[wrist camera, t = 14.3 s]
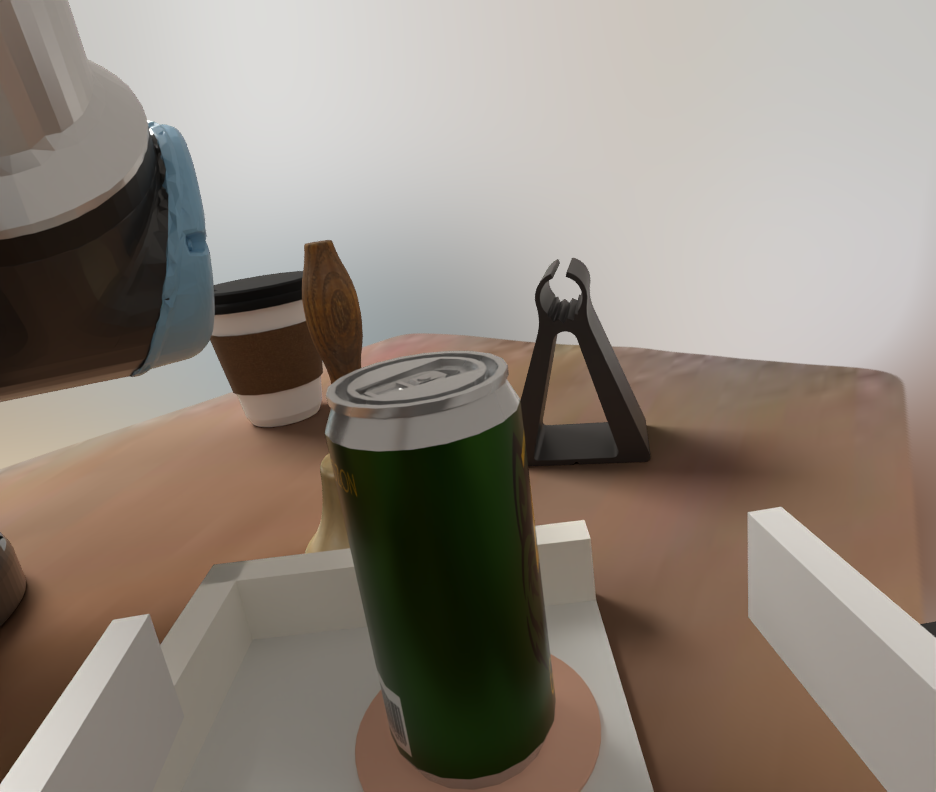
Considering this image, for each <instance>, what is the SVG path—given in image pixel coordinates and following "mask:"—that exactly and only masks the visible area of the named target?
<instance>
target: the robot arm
mask: <svg viewBox="0 0 936 792" xmlns="http://www.w3.org/2000/svg"><path fill="white" fill-rule="evenodd" d="M205 240H206V230H205V218H204V211H203V205H202V200H201V195H200V190H199V186H198V182H197V177H196V173H195V169H194V165H193V162H192V159H191V155H190V153H189V150H188V147H187V144H186V142H185V140H184V138H183V136H182V135H181V133H180V132H179V131H178V130H177V129H176V128H174V127H172V126H168V125H163V124H162V125H160V124H158V123H155V122H152V121H147V118H146V115H145V113H144V110H143V107H142V105H141V104H140V102H139V100H138V99H137V97H136V96H135V94H134V93H133V92H132V90H131V89H130V88H129V86H128V85H126V84H125V83H124V82H123V81H122V80H121V79H119V78H118V77H117V76H116V75H114V74H113V73H111V72H110V71H108V70H107V69H105V68H103V67H102V66H100V65H98V64H96V63H94V62H92V61H90V60H88V59H87V57H86V54H85V51H84V48H83V45H82V42H81V39H80V36H79V33H78V30H77V27H76V24H75V21H74V18H73V15H72V12H71V9H70V5H69V2H68V0H0V402H3V401H8V400H12V399H18V398H23V397H27V396H32V395H38V394H42V393H48V392H53V391H58V390H62V389H68V388H72V387H77V386H83V385H88V384H92V383H97V382H103V381H108V380H112V379H118V378H122V377H128V376H131V377H135V376H140V375H142V374H144V373H146V372H147V371H149V370H150V369H152V368H156V367H160V366H163V365H167V364H171V363H174V362H178V361H182V360H186V359H189V358H192V357H194V356H195V355H197V354H198V353H200V352H201V351H202V350H203V349H204V348H205V346H206V345H207V344H208V342H209V340H210V338H211V335H212V332H213V327H214V316H215V304H214V285H213V275H212V266H211V259H210V252H209V249H208V246H207V243H206V241H205ZM25 589H26V578H25V575H24V573H23V571H22V568H21V566H20V563H19V561H18V558H17V556H16V553H15V551H14V548H13V546H12V545H11V543H10V542H9V540H8V539H7V538H6V537H5V536H4V535H3V534H2V533H1V532H0V626H1V625H2V624H3V623H4V622H5V621H6V620H7V619H8V618H9V616H10V615H11V614H12V613H13V611H14V610H15V609H16V607H17V606H18V604H19V603H20V601H21V599H22V597H23V595H24V593H25ZM748 617H749V618H750V620H751V621H752V622H753V623H754V625H755V626H756V627H757V628H758V630H759V631H760V632H761V634H762V635H763V636H764V637H765V639H766V640H767V641H768V642H769V644H770V645H771V646H772V647H773V649H774V650H775V651H776V652H777V654H778V655H779V656H780V657H781V659H782V660H783V661H784V662H785V664H786V665H787V666H788V667H789V669H790V670H791V671H792V672H793V674H794V675H795V676H796V677H797V679H798V680H799V681H800V682H801V684H802V685H803V686H804V687H805V689H806V690H807V691H808V692H809V694H810V695H811V696H812V697H813V699H814V700H815V701H816V702H817V704H818V705H819V706H820V708H821V709H822V710H823V711H824V713H825V714H826V715H827V716H828V718H829V719H830V720H831V721H832V723H833V724H834V725H835V726H836V728H837V729H838V730H839V731H840V733H841V734H842V735H843V736H844V738H845V739H846V740H847V741H848V743H849V744H850V745H851V746H852V748H853V749H854V750H855V751H856V753H857V754H858V755H859V756H860V758H861V759H862V760H863V761H864V763H865V764H866V765H867V766H868V768H869V769H870V770H871V771H872V773H873V774H874V775H875V776H876V778H877V779H878V780H879V782H880V783H881V784H882V785H883V787H884V788H885V789H886V790H887V792H936V622H931V623H925V624H919V623H918V622H917V621H915V620H914V619H913V618H912V617H911V616H909V615H908V614H907V613H906V612H905V611H904V610H902V609H901V608H900V607H899V606H898V605H896V604H895V603H894V602H893V601H892V600H891V599H889V598H888V597H887V596H886V595H885V594H884V593H882V592H881V591H880V590H879V589H878V588H876V587H875V586H874V585H873V584H872V583H871V582H869V581H868V580H867V579H866V578H865V577H863V576H862V575H861V574H860V573H859V572H858V571H856V570H855V569H854V568H853V567H852V566H851V565H849V564H848V563H847V562H846V561H845V560H843V559H842V558H841V557H840V556H839V555H838V554H836V553H835V552H834V551H833V550H832V549H830V548H829V547H828V546H827V545H826V544H825V543H823V542H822V541H821V540H820V539H819V538H817V537H816V536H815V535H814V534H813V533H812V532H810V531H809V530H808V529H807V528H806V527H805V526H803V525H802V524H801V523H800V522H799V521H797V520H796V519H795V518H794V517H793V516H792V515H790V514H789V513H788V512H787V511H786V510H784V509H783V508H782V507H777V508H771V509H765V510H759V511H753V512H748ZM183 718H184V714H183V711H182V708H181V705H180V702H179V699H178V696H177V693H176V690H175V688H174V685H173V682H172V679H171V676H170V673H169V670H168V667H167V664H166V661H165V658H164V655H163V652H162V649H161V647H160V644H159V641H158V638H157V635H156V632H155V629H154V626H153V623H152V620H151V617H150V614H145V615H139V616H133V617H127V618H121V619H115V620H113V621H112V622H111V624H110V625H109V626H108V628H107V629H106V631H105V632H104V634H103V635H102V637H101V638H100V640H99V641H98V642H97V644H96V645H95V647H94V648H93V650H92V651H91V653H90V654H89V656H88V657H87V659H86V660H85V661H84V663H83V664H82V666H81V667H80V669H79V670H78V672H77V673H76V675H75V676H74V677H73V679H72V680H71V682H70V683H69V685H68V686H67V688H66V689H65V691H64V692H63V693H62V695H61V696H60V698H59V699H58V701H57V702H56V704H55V705H54V707H53V708H52V710H51V711H50V712H49V714H48V715H47V717H46V718H45V720H44V721H43V723H42V724H41V726H40V727H39V728H38V730H37V731H36V733H35V734H34V736H33V737H32V739H31V740H30V742H29V743H28V745H27V746H26V747H25V749H24V750H23V752H22V753H21V755H20V756H19V758H18V759H17V761H16V762H15V763H14V765H13V766H12V768H11V769H10V771H9V772H8V774H7V775H6V777H5V778H4V779H3V781H2V782H1V784H0V792H152V791H153V789H154V787H155V784H156V782H157V780H158V777H159V775H160V772H161V770H162V768H163V765H164V763H165V761H166V758H167V756H168V754H169V751H170V749H171V747H172V744H173V742H174V740H175V737H176V735H177V732H178V730H179V728H180V725H181V723H182V721H183Z"/></svg>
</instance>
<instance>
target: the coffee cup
mask: <svg viewBox="0 0 936 792" xmlns="http://www.w3.org/2000/svg"><path fill="white" fill-rule="evenodd" d="M302 279H303V271H297V272H286V273H278V274H271V275H263V276H257V277H252V278H245V279H240V280H235V281H230V282H226V283H221V284H217V285H214V304H215V316H214V327H213V332H212V335H211V338H210V341H211V343H212V345H213V347H214V350H215V352H216V354H217V357H218V359H219V361H220V363H221V366H222V368H223V370H224V372H225V375H226V377H227V379H228V381H229V383H230V386H231V388H232V390H233V393H235V394H237V397H238V399H239V401H240V403H241V406H242V408H243V410H244V412H245V415H246V417H247V418H248V419H249V420H250V422H251V423H252V424H253V425H256V426H258V427H276V426H284V425H288V424H292V423H296V422H299V421H301V420H304V419H307V418H309V417H311V416H312V415H314V414H316V413H317V412H318V410H319V409H320V406H321V402H322V387H321V374H322V373H323V368H322V359H321V357H320V355H319V353H318V351H317V350H316V347H315V345H314V343H313V341H312V338H311V335H310V332H309V329H308V326H307V322H306V318H305V313H304V308H303V302H302Z"/></svg>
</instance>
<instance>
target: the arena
mask: <svg viewBox="0 0 936 792" xmlns="http://www.w3.org/2000/svg"><path fill="white" fill-rule="evenodd" d="M535 529H536V537H537V546H538V554H539V563H540V571H541V580H542V588H543V597H544V605H545V614H546V622H547V630H548V639H549V647H550V656H551V664H552V673H553V681H554V690H555V698H556V703H555V716H554V722H553V724H552V727H551V729H550V731H549V733H548V736H547V738H546V740H545V742H544V744H543V746H542V748H541V750H540V752H539V754H538V756H537V757H536V758H535V759H534V760H533V761H532V762H531V763H530V764H529V765H528V766H527V767H526V768H525V769H524V770H523V771H522V772H521V773H519V774H518V775H516V776H514V777H512V778H510V779H508V780H506V781H504V782H503V783H501V784H499V785H494V786H489V787H485V788H480V789H476V790H468V789H452V788H447V787H445V786H442V785H440V784H437V783H434V782H432V781H429V780H428V779H427V778H425V777H424V776H423V775H422V774H421V773H420V772H419V771H417V770H416V769H415V768H414V767H413V766H412V765H411V764H410V763H409V762H408V761H407V760H406V759H405V758H404V757H403V756H402V755H401V754H400V752H399V750H398V748H397V746H396V744H395V742H394V740H393V738H392V736H391V732H390V727H389V723H388V718H387V714H386V709H385V705H384V700H383V695H382V691H381V686H380V682H379V677H378V673H377V668H376V664H375V659H374V655H373V650H372V645H371V641H370V636H369V632H368V627H367V623H366V618H365V614H364V609H363V604H362V600H361V595H360V591H359V586H358V582H357V577H356V573H355V568H354V564H353V559H352V554H351V550H350V548H348V549H340V550H332V551H323V552H315V553H307V554H298V555H290V556H282V557H274V558H265V559H257V560H249V561H240V562H232V563H224V564H216V565H213V566H212V568H211V569H210V571H209V572H208V574H207V575H206V577H205V578H204V580H203V581H202V583H201V584H200V586H199V587H198V589H197V590H196V592H195V593H194V595H193V596H192V598H191V599H190V601H189V602H188V604H187V605H186V607H185V608H184V610H183V611H182V613H181V614H180V616H179V617H178V619H177V620H176V622H175V623H174V625H173V626H172V628H171V629H170V631H169V632H168V634H167V635H166V637H165V638H164V640H163V641H162V643H161V644H160V647H161V649H162V652H163V655H164V658H165V661H166V664H167V667H168V670H169V673H170V676H171V679H172V682H173V685H174V688H175V690H176V693H177V696H178V699H179V702H180V705H181V708H182V711H183V714H184V718H183V721H182V723H181V725H180V728H179V730H178V732H177V735H176V737H175V740H174V742H173V744H172V747H171V749H170V751H169V754H168V756H167V758H166V761H165V763H164V765H163V768H162V770H161V772H160V775H159V777H158V780H157V782H156V784H155V787H154V789H153V791H152V792H654V791H653V787H652V784H651V781H650V777H649V774H648V771H647V768H646V764H645V761H644V758H643V754H642V751H641V748H640V744H639V741H638V738H637V734H636V731H635V728H634V724H633V721H632V718H631V714H630V711H629V708H628V704H627V701H626V698H625V695H624V691H623V688H622V685H621V681H620V678H619V675H618V671H617V668H616V665H615V661H614V658H613V655H612V651H611V648H610V645H609V641H608V638H607V635H606V631H605V628H604V625H603V622H602V618H601V615H600V612H599V608H598V605H597V602H596V594H595V583H594V572H593V561H592V550H591V539H590V536H589V533H588V530H587V527H586V524H585V521H584V520H580V521H572V522H564V523H556V524H547V525H539V526H535Z"/></svg>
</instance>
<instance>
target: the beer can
mask: <svg viewBox="0 0 936 792" xmlns="http://www.w3.org/2000/svg"><path fill="white" fill-rule="evenodd" d="M508 375H509V374H508V365H507V364H506V362H505V361H504V360H503V358H500V357H498V356H495V355H492V354H490V353H482V352H474V351H444V352H433V353H423V354H417V355H411V356H405V357H399V358H395V359H391V360H387V361H383V362H379V363H375V364H372V365H369V366H366V367H363V368H361V369H358V370H355V371H353V372H351V373H349V374H347V375H345V376H343V377H341V378H339V379H337V380H336V381H335V382H334V383H333V384H331V385H330V386H329V387H328V389H327V393H326V399H327V403H328V406H329V407H330V408H331V411H330V414H329V418H328V422H327V426H326V430H325V436H326V441H327V445H328V450H329V454H330V459H331V463H332V468H333V473H334V477H335V482H336V486H337V491H338V495H339V500H340V504H341V509H342V513H343V518H344V523H345V527H346V532H347V536H348V541H349V545H350V550H351V554H352V559H353V564H354V568H355V573H356V577H357V582H358V586H359V591H360V595H361V600H362V604H363V609H364V614H365V618H366V623H367V627H368V632H369V636H370V641H371V645H372V650H373V655H374V659H375V664H376V668H377V673H378V677H379V682H380V686H381V691H382V695H383V700H384V705H385V709H386V714H387V718H388V723H389V727H390V732H391V736H392V738H393V740H394V742H395V744H396V746H397V748H398V750H399V752H400V754H401V755H402V756H403V757H404V758H405V759H406V760H407V761H408V762H409V763H410V764H411V765H412V766H413V767H414V768H415V769H416V770H417V771H419V772H420V773H421V774H422V775H423V776H424V777H425V778H427V779H428V780H429V781H432V782H434V783H437V784H440V785H442V786H445V787H447V788H452V789H468V790H476V789H480V788H485V787H489V786H494V785H499V784H501V783H503V782H504V781H506V780H508V779H510V778H512V777H514V776H516V775H518V774H519V773H521V772H522V771H523V770H524V769H525V768H526V767H527V766H528V765H529V764H530V763H531V762H532V761H533V760H534V759H535V758H536V757H537V756H538V754H539V752H540V750H541V748H542V746H543V744H544V742H545V740H546V738H547V736H548V733H549V731H550V729H551V727H552V724H553V722H554V716H555V703H556V698H555V690H554V681H553V673H552V664H551V656H550V647H549V639H548V630H547V622H546V614H545V605H544V597H543V588H542V580H541V571H540V563H539V554H538V546H537V537H536V529H535V520H534V512H533V503H532V495H531V486H530V478H529V469H528V461H527V453H526V444H525V436H524V427H523V419H522V410H521V402H520V398H519V397H518V395H517V394H516V392H515V391H514V389H513V388H512V386H511V385H510V383H509V382H508V380H507V377H508Z"/></svg>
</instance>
